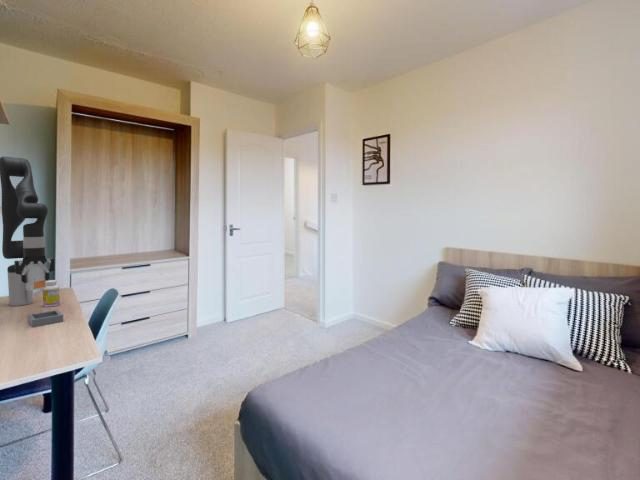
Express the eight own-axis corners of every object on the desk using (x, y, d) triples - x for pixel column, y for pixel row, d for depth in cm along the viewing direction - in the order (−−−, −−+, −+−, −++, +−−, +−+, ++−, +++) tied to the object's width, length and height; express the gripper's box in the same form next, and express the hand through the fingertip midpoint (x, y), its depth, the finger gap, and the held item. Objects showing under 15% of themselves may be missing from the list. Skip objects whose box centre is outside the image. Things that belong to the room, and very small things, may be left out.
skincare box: (33, 290, 146) (31, 264, 145) (25, 289, 147) (24, 264, 146) (46, 287, 152) (45, 262, 151) (39, 286, 153) (38, 262, 152)
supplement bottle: (43, 304, 167) (42, 280, 166) (59, 302, 172) (58, 279, 171) (43, 307, 162) (42, 282, 161) (60, 305, 167) (59, 281, 166)
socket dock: (28, 321, 142) (27, 314, 142) (57, 316, 150) (57, 309, 150) (32, 327, 136) (32, 320, 136) (63, 321, 144) (63, 314, 143)
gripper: (52, 244, 156) (53, 278, 157) (11, 246, 145) (13, 282, 147) (55, 246, 151) (57, 280, 153) (14, 248, 140) (15, 285, 142)
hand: (35, 281), depth 150 cm, fingers closed on skincare box, 7 cm apart
